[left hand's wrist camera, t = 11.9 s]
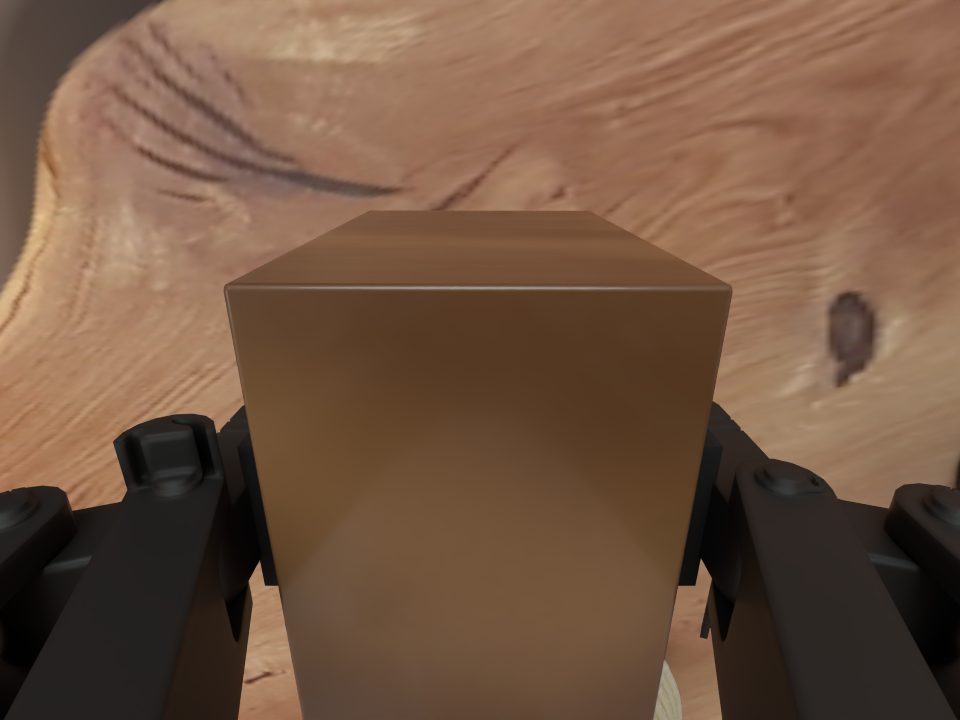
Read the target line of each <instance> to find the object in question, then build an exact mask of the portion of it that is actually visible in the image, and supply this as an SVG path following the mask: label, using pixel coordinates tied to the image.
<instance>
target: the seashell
mask: <svg viewBox="0 0 960 720" xmlns="http://www.w3.org/2000/svg"><path fill="white" fill-rule="evenodd" d="M653 720H682V705H681V699H680V694H679V690H678V688H677V684H676V682H675V679H674V677H673V675H672V673H671V671H670V669H669V666H668V664H667V662H666V661H665V660H664V664H663V669H662V675H661V680H660V686H659V691H658V696H657V702H656V707H655V713H654V718H653Z"/></svg>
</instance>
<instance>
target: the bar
mask: <svg viewBox="0 0 960 720" xmlns="http://www.w3.org/2000/svg"><path fill="white" fill-rule="evenodd" d="M224 295H225V301H226V306H227V312H228V317H229V322H230V328H231V333H232V339H233V344H234V349H235V355H236V360H237V366H238V371H239V376H240V382H241V387H242V393H243V398H244V403H245V409H246V414H247V420H248V425H249V430H250V436H251V441H252V447H253V452H254V457H255V463H256V468H257V474H258V479H259V484H260V490H261V495H262V501H263V506H264V511H265V517H266V522H267V528H268V533H269V538H270V544H271V549H272V555H273V560H274V565H275V571H276V576H277V582H278V587H279V592H280V598H281V603H282V609H283V614H284V619H285V625H286V630H287V635H288V641H289V646H290V652H291V657H292V662H293V668H294V673H295V679H296V684H297V689H298V695H299V700H300V706H301V711H302V716H303V720H653V718H654V713H655V707H656V702H657V696H658V691H659V686H660V680H661V675H662V669H663V664H664V659H665V653H666V648H667V642H668V637H669V632H670V626H671V621H672V615H673V610H674V605H675V599H676V594H677V588H678V583H679V578H680V572H681V567H682V561H683V556H684V551H685V545H686V540H687V535H688V529H689V524H690V518H691V513H692V508H693V502H694V497H695V491H696V486H697V481H698V475H699V470H700V464H701V459H702V454H703V448H704V443H705V437H706V432H707V427H708V421H709V416H710V410H711V405H712V400H713V394H714V389H715V384H716V378H717V373H718V367H719V362H720V357H721V351H722V346H723V340H724V335H725V330H726V324H727V319H728V313H729V308H730V303H731V297H732V287H731V285H729V284H727V283H725V282H723V281H721V280H719V279H717V278H716V277H714V276H712V275H710V274H708V273H706V272H704V271H702V270H700V269H698V268H697V267H695V266H693V265H691V264H689V263H687V262H685V261H683V260H681V259H679V258H678V257H676V256H674V255H672V254H670V253H668V252H666V251H664V250H662V249H660V248H659V247H657V246H655V245H653V244H651V243H649V242H647V241H645V240H643V239H641V238H640V237H638V236H636V235H634V234H632V233H630V232H628V231H626V230H624V229H622V228H621V227H619V226H617V225H615V224H613V223H611V222H609V221H607V220H605V219H603V218H602V217H600V216H598V215H596V214H594V213H592V212H590V211H368V212H366V213H365V214H363V215H361V216H359V217H357V218H355V219H353V220H351V221H349V222H347V223H345V224H343V225H341V226H339V227H337V228H335V229H333V230H331V231H329V232H327V233H325V234H323V235H322V236H320V237H318V238H316V239H314V240H312V241H310V242H308V243H306V244H304V245H302V246H300V247H298V248H296V249H294V250H292V251H290V252H288V253H286V254H284V255H282V256H280V257H279V258H277V259H275V260H273V261H271V262H269V263H267V264H265V265H263V266H261V267H259V268H257V269H255V270H253V271H251V272H249V273H247V274H245V275H243V276H241V277H239V278H237V279H236V280H234V281H232V282H230V283H228V284H226V285H225V286H224Z"/></svg>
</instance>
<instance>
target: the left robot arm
mask: <svg viewBox="0 0 960 720" xmlns="http://www.w3.org/2000/svg"><path fill="white" fill-rule="evenodd" d="M113 444H114V447H115V450H116V454H117V457H118V460H119V463H120V467H121V470H122V473H123V477H124V480H125V483H126V486H127V492H126V494H125V496H124V498H123V500H122V502H118V503H113V504H107V505H102V506H97V507H91V508H86V509H80V510H75V511H72V509H71V506H70V503H69V500H68V497H67V495H66V492H64V491H63V490H61V489H60V488H58V487H51V486H36V487H28V488H25V487H23V488H18V489H13V490H12V491H11V492H9V491H6V492H3V493H0V720H238V714H239V706H240V698H241V690H242V683H243V675H244V667H245V659H246V651H247V644H248V636H249V628H250V620H251V612H252V605H253V602H252V596H251V590H250V586H249V579H250V577H251V575H252V574H253V572H254V570H255V568H256V566H257V564H258V562H259V561H260V563H261V568H262V573H263V578H264V583H265V586H278V582H277V576H276V571H275V565H274V560H273V555H272V549H271V544H270V538H269V533H268V528H267V522H266V517H265V511H264V506H263V501H262V495H261V490H260V484H259V479H258V474H257V468H256V463H255V457H254V452H253V447H252V441H251V436H250V430H249V425H248V420H247V414H246V409H245V405H244V406H242V407H241V408H240V409H239V410H238V411H237V412H236V414H235V415H234V416H233V417H232V418H231V419H230V422H227V423H226V424H225V425H224V426H223V427H222V429H221V430H220V433H217V434H216V430H215V425H214V421H213V420H211V419H210V418H208V417H207V416H203V415H197V414H175V415H170V416H165V417H160V418H156V419H153V420H150V421H147V422H144V423H141V424H138V425H136V426H134V427H132V428H131V429H129V430H127V431H125V432H123V433H122V434H121V435H120V436H119V437H117V438H116V439H115V440H114V441H113ZM701 559H702V561H703V563H704V565H705V566H706V568H707V570H708V572H709V574H710V576H711V577H712V581H711V586H710V590H709V595H708V600H707V604H706V609H705V613H704V618H703V623H702V627H701V634H700V637H701V638H705V639H707V637H708V633H709V629H710V628H711V634H712V642H713V650H714V658H715V666H716V673H717V681H718V689H719V697H720V704H721V712H722V720H960V480H959V490H957V489H954V488H953V489H950V487H946V486H941V485H929V484H921V483H917V484H907V485H903V486H901V487H900V488H898V489H897V490H896V491H895V493H894V496H893V499H892V502H891V504H890V507H889V509H888V508H882V507H877V506H871V505H866V504H861V503H855V502H850V501H844V500H840V499H837V497H836V495H835V493H834V491H833V489H832V488H831V487H830V486H829V485H828V484H827V483H826V482H825V480H824V479H822V478H821V477H819V476H818V475H816V474H814V473H813V472H811V471H810V470H808V469H805V468H803V467H800V466H798V465H795V464H793V463H789V462H785V461H781V460H776V459H769V458H768V457H767V456H766V454H765V453H764V452H763V451H762V450H761V449H760V448H759V447H758V446H757V445H756V444H755V443H754V442H753V441H752V440H751V439H750V437H749V436H748V435H747V434H746V433H745V432H744V431H741V430H740V427H739V426H738V425H737V424H736V423H735V421H734V420H731V417H730V416H729V415H728V414H727V413H726V412H725V411H724V410H723V409H722V408H721V407H720V406H719V405H718V404H717V403H715V402H713V401H712V405H711V410H710V416H709V421H708V427H707V432H706V437H705V443H704V448H703V454H702V459H701V464H700V470H699V475H698V481H697V486H696V491H695V497H694V502H693V508H692V513H691V518H690V524H689V529H688V535H687V540H686V545H685V551H684V556H683V561H682V567H681V572H680V578H679V583H678V586H695V584H696V580H697V575H698V570H699V565H700V560H701Z"/></svg>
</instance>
